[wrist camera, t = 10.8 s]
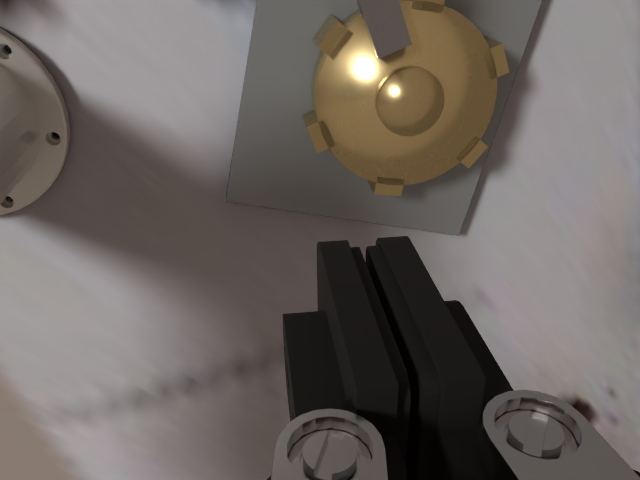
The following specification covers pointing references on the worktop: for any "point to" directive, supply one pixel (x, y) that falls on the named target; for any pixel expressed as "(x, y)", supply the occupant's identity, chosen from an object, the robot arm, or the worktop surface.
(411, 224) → the base plate
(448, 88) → the gold domed lever dial
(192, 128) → the worktop surface
